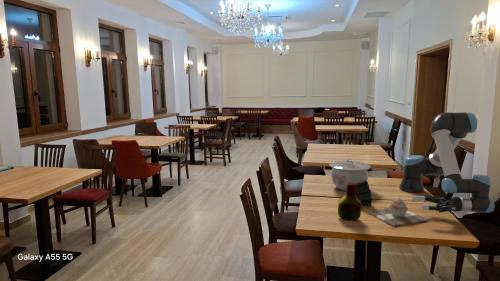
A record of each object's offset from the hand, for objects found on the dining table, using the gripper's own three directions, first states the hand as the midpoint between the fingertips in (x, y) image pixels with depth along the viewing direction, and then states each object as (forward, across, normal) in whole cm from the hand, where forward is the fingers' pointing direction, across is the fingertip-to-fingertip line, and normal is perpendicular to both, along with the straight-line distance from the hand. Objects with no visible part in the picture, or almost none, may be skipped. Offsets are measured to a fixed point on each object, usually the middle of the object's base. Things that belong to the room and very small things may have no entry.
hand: (416, 202), depth 175 cm
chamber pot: (+27, +49, -9) cm, 57 cm away
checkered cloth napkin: (+10, 0, -8) cm, 13 cm away
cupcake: (+9, 0, -8) cm, 12 cm away
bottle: (+36, -6, -9) cm, 37 cm away
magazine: (+26, +18, -9) cm, 32 cm away
